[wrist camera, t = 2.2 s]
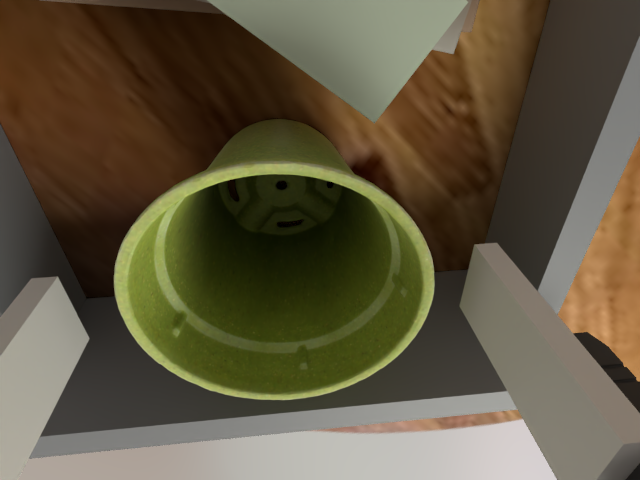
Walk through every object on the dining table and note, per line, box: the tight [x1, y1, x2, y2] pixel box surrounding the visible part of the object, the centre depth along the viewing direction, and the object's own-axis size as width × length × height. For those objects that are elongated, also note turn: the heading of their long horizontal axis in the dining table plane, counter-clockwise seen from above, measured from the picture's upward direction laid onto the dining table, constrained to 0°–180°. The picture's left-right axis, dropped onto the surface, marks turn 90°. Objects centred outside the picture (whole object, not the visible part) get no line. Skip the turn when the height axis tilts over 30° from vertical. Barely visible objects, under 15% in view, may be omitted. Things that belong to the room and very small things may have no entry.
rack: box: [0, 0, 640, 459], centre depth 14 cm, size 20×26×8 cm
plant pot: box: [114, 119, 435, 400], centre depth 15 cm, size 9×9×9 cm
